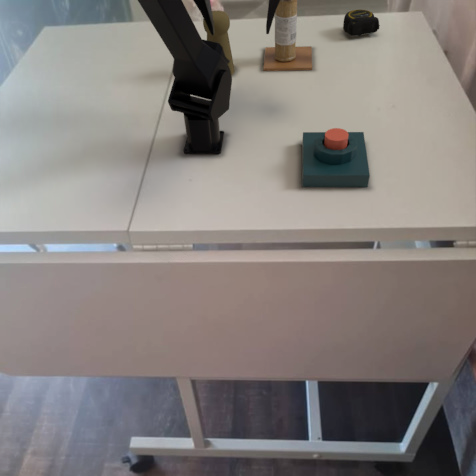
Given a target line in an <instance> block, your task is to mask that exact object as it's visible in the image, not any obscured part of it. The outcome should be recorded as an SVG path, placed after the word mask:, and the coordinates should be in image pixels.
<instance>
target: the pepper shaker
mask: <svg viewBox="0 0 476 476" xmlns="http://www.w3.org/2000/svg"><path fill="white" fill-rule="evenodd" d="M212 15H213V20H214V35H211V33H210V31H209V29H208V27H207V24H206V22H205V20H204V18H203V20H202V26H203V29H204V31H205V32H206V40H207V41H212V42H217V43H220V45H221V46H222V47H223V50H224V54H225V56H226V58H227V59H228V60H230V62H229V63H228V66H229V68H230V71H231V76H233V75H234V74H235V71H236V69H235V64H234V59H233V53H232V48H231V43H230V37H229V29H230V26H231V20H230V17H229V15H228V13H226V12H225V11H223V10H212Z"/></svg>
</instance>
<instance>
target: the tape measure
mask: <svg viewBox="0 0 476 476" xmlns="http://www.w3.org/2000/svg"><path fill="white" fill-rule="evenodd" d="M380 26H381V25H380V20H379V18H378V17H376V16H375V14H374V13H373V12H372V11H370V10H368V9H353V10H350V11H348V12H346V13H345V14H344V17H343V24H342V27H343V28H342V29H343V31H344V33H346V34H348V36H352V37H362V36H364V35H369V34H374V33H377V32H378V30H380Z"/></svg>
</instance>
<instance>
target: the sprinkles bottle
mask: <svg viewBox="0 0 476 476" xmlns="http://www.w3.org/2000/svg"><path fill="white" fill-rule="evenodd" d="M297 23H298V0H280V2H279V4H278V7H277V9H276V11H275V15H274V47H275V56H274V57H275V59H276V60H278V61H281V62H288V61H291V60H293V59H294V58H295V57H296V54H295V47H296V43H297V25H298V24H297Z"/></svg>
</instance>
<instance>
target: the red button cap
mask: <svg viewBox="0 0 476 476" xmlns="http://www.w3.org/2000/svg"><path fill="white" fill-rule="evenodd" d="M325 132H326V133H325V139H324V146H325V147H326V148H328V149H331V150H342V149H345V148H346V147H347V143H348V136H349V134H348V132H349V131H347V130H346V129H343V128H339V127H334V128H330V129H327V130H325Z"/></svg>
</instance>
